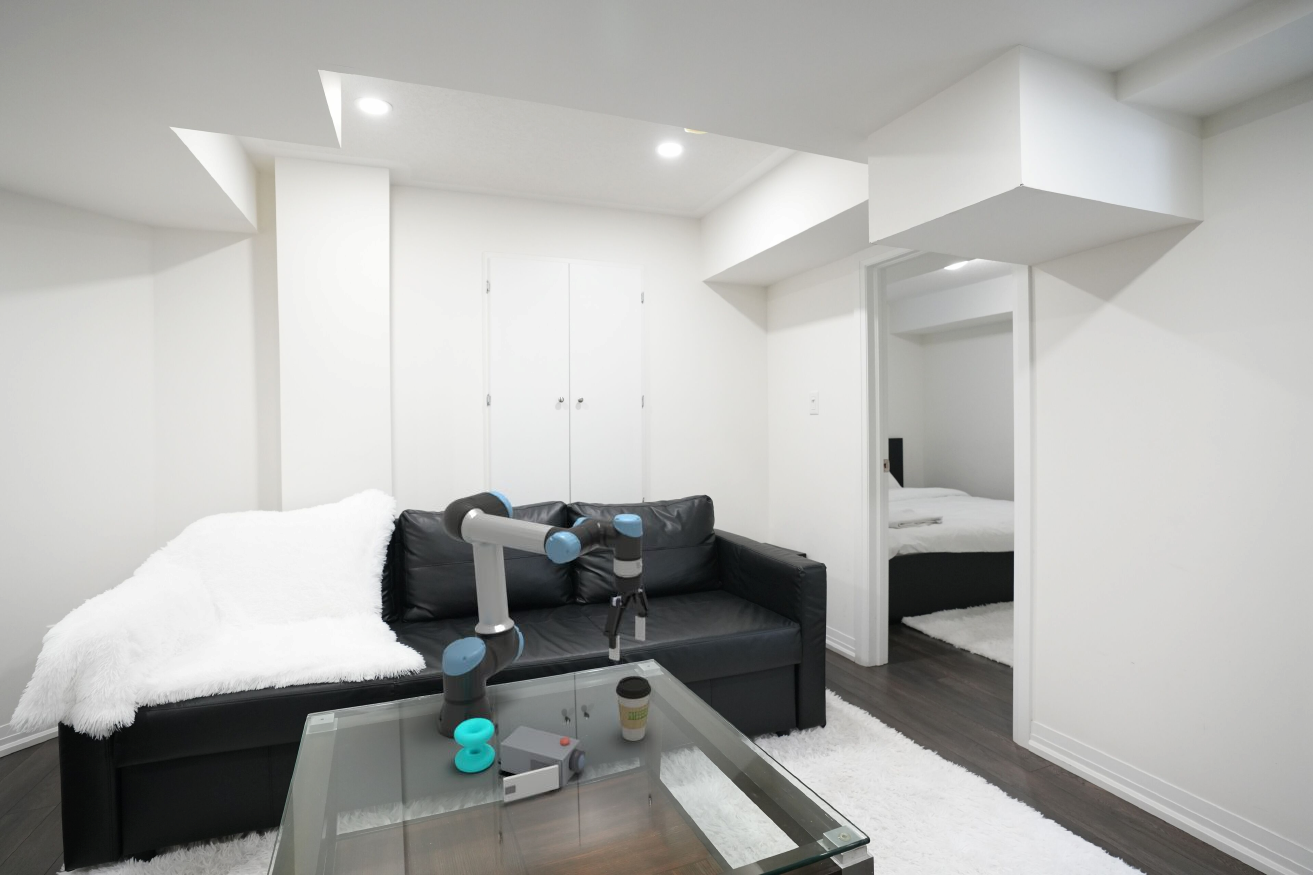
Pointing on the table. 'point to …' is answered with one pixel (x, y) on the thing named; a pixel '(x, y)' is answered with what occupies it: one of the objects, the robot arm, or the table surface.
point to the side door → (532, 782)
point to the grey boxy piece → (541, 752)
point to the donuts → (474, 745)
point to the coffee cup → (633, 706)
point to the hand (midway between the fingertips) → (627, 648)
